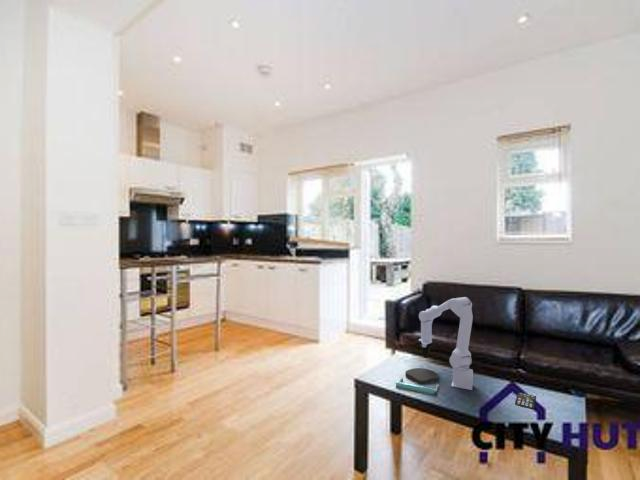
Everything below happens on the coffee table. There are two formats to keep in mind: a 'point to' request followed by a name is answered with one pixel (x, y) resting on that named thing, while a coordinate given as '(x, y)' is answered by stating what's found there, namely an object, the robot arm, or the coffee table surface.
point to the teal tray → (416, 387)
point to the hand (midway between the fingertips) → (426, 356)
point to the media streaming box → (422, 375)
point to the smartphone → (525, 400)
